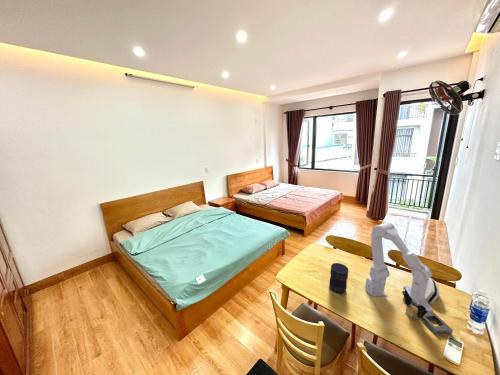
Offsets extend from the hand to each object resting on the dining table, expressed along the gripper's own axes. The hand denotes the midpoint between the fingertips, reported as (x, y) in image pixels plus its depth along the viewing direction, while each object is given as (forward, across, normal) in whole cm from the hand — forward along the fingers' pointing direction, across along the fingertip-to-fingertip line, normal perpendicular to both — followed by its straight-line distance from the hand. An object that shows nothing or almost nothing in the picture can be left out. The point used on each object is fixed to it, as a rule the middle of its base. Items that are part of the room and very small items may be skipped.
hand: (413, 310), depth 102 cm
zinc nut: (+4, +5, -7) cm, 9 cm away
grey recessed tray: (+4, 0, -7) cm, 8 cm away
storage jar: (+4, +22, +30) cm, 37 cm away
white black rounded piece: (+4, +14, -21) cm, 26 cm away
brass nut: (+4, 0, 0) cm, 4 cm away
